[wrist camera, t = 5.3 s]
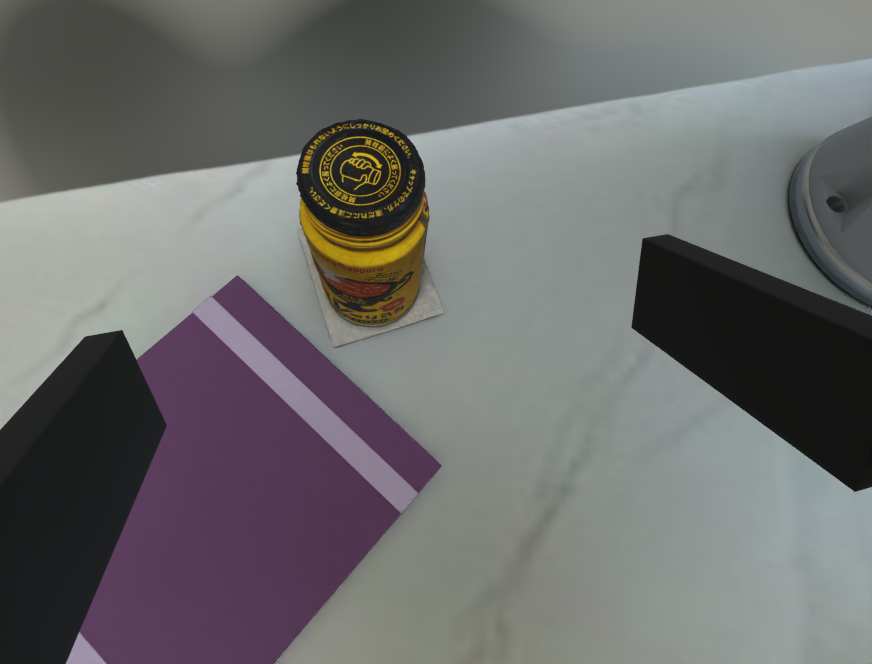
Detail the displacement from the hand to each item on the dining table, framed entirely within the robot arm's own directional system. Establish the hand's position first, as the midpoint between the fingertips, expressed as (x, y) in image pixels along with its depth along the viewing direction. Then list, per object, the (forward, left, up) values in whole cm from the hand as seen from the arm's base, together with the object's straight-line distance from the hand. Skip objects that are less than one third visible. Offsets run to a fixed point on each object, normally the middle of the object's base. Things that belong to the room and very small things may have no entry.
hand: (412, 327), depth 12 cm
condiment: (-5, -8, -17) cm, 19 cm away
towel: (+11, -5, -17) cm, 20 cm away
